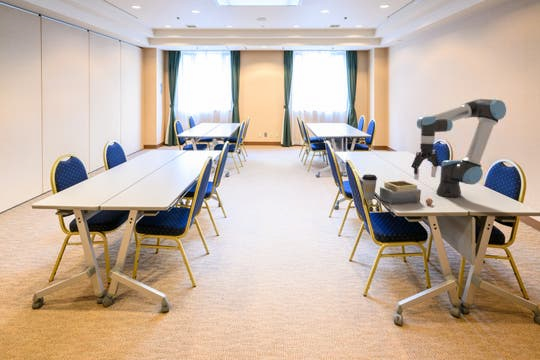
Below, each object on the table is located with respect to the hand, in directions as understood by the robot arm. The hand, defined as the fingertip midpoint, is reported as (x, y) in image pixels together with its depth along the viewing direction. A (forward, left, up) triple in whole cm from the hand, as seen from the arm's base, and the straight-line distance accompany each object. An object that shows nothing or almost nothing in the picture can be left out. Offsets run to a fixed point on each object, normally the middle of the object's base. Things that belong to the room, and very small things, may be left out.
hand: (424, 178), depth 260 cm
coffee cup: (+24, -22, -17) cm, 37 cm away
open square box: (+8, -12, -16) cm, 22 cm away
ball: (-4, +1, -16) cm, 17 cm away
